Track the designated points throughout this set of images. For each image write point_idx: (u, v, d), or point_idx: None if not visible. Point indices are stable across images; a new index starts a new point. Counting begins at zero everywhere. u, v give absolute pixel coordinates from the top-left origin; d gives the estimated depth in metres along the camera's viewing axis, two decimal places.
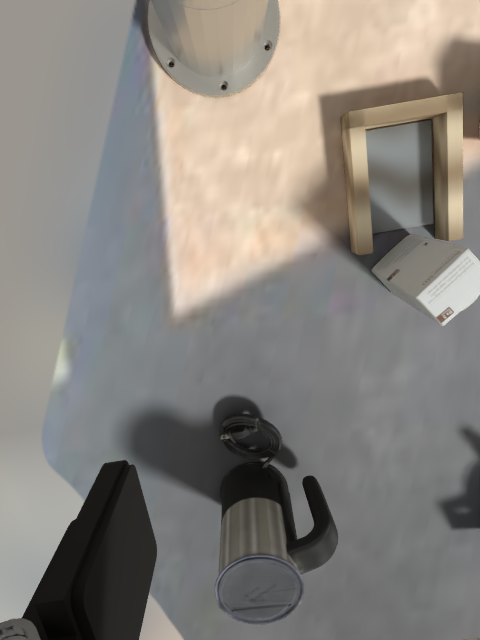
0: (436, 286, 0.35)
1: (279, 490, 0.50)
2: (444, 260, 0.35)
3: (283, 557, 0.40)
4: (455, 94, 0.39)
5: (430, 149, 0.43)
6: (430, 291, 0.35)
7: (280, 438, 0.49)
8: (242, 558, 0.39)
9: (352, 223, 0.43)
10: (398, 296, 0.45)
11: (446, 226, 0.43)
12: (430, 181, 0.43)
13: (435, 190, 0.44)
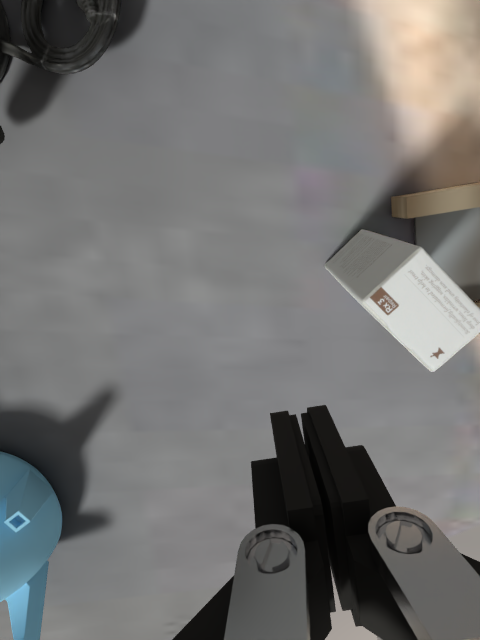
0: (436, 279, 0.21)
1: None
2: None
3: None
4: None
5: None
6: (429, 270, 0.20)
7: (78, 66, 0.26)
8: None
9: (442, 189, 0.29)
10: (335, 265, 0.30)
11: None
12: (474, 297, 0.33)
13: None
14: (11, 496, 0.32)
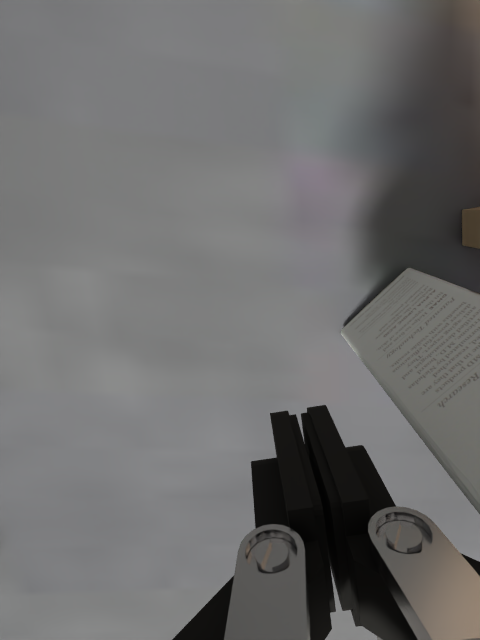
0: None
1: None
2: None
3: None
4: None
5: None
6: None
7: None
8: None
9: None
10: (365, 340, 0.16)
11: None
12: None
13: None
14: None
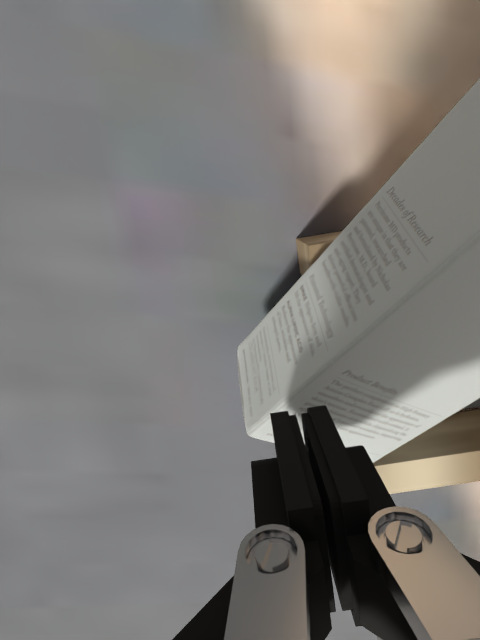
0: None
1: None
2: None
3: None
4: None
5: None
6: None
7: None
8: None
9: None
10: (288, 380, 0.13)
11: None
12: None
13: None
14: None
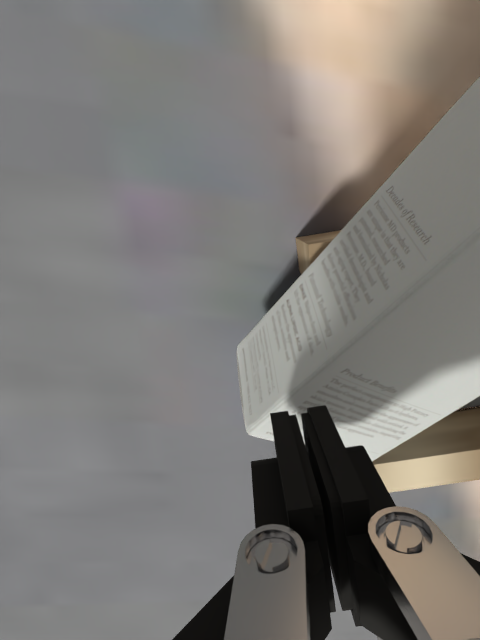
0: None
1: None
2: None
3: None
4: None
5: None
6: None
7: None
8: None
9: None
10: (288, 379, 0.13)
11: None
12: None
13: None
14: None
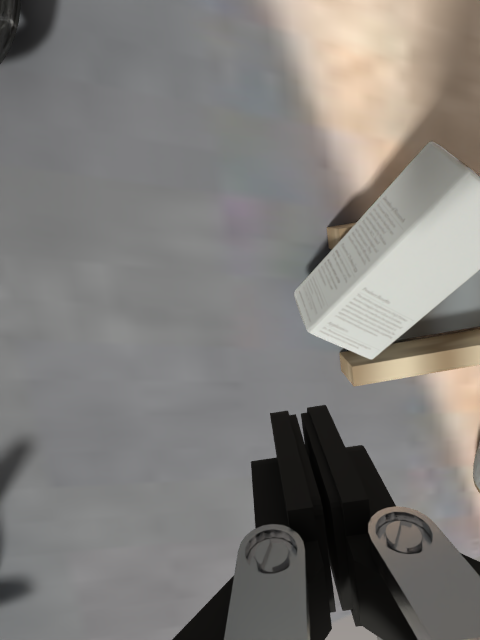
0: None
1: None
2: None
3: None
4: None
5: (462, 327, 0.31)
6: None
7: None
8: None
9: None
10: (333, 297, 0.24)
11: (371, 361, 0.28)
12: (420, 333, 0.31)
13: (407, 342, 0.31)
14: None
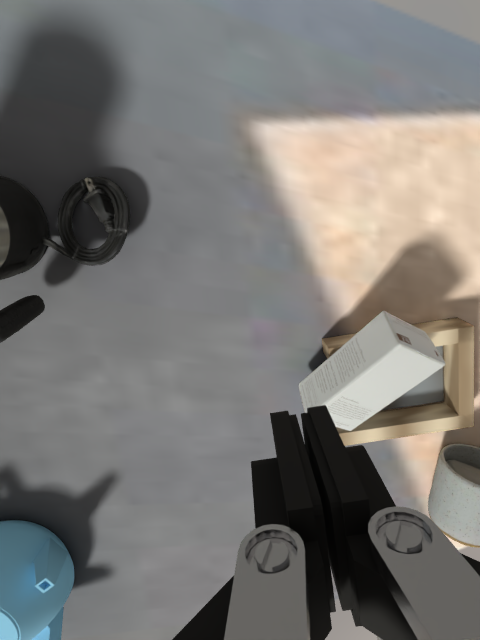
0: (400, 320, 0.35)
1: (16, 263, 0.35)
2: None
3: None
4: (472, 420, 0.41)
5: (417, 404, 0.44)
6: (395, 318, 0.35)
7: (99, 263, 0.36)
8: None
9: None
10: (322, 399, 0.37)
11: None
12: (387, 407, 0.44)
13: (378, 413, 0.44)
14: (37, 563, 0.42)
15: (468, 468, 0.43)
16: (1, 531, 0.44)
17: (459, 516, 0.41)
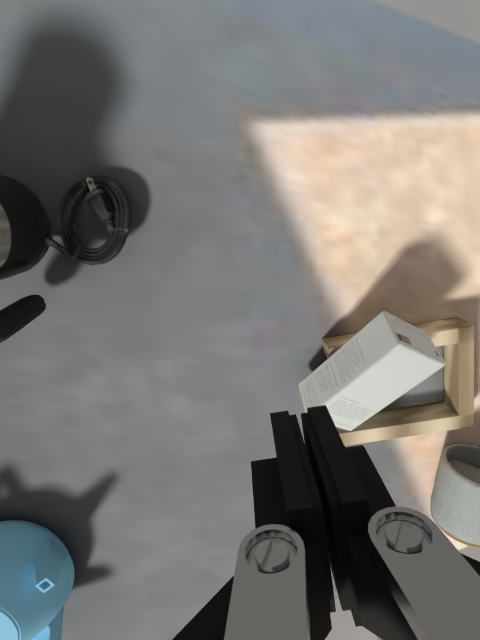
0: (400, 320, 0.35)
1: (18, 262, 0.35)
2: None
3: None
4: (472, 420, 0.41)
5: (417, 404, 0.44)
6: (395, 318, 0.35)
7: (100, 262, 0.36)
8: None
9: None
10: (322, 399, 0.37)
11: None
12: (387, 407, 0.44)
13: (378, 413, 0.44)
14: (37, 562, 0.43)
15: (470, 468, 0.43)
16: (1, 531, 0.44)
17: (462, 516, 0.41)
